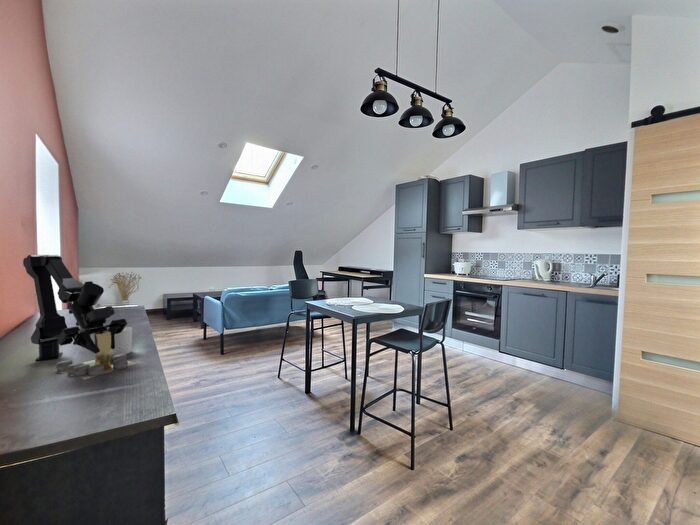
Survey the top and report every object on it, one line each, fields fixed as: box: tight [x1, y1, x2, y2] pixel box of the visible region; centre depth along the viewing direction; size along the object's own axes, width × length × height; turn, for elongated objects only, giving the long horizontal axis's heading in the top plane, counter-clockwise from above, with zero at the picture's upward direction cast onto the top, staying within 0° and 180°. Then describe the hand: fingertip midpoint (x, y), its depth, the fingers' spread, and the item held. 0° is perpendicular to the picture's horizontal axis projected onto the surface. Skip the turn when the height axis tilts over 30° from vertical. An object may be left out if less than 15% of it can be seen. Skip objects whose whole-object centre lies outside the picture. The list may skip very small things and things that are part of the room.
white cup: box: [111, 326, 133, 355], centre depth 127 cm, size 8×8×10 cm
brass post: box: [93, 331, 112, 370], centre depth 109 cm, size 4×4×12 cm
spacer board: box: [52, 353, 138, 380], centre depth 111 cm, size 19×16×3 cm
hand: (105, 350), depth 109 cm, fingers open, 5 cm apart
